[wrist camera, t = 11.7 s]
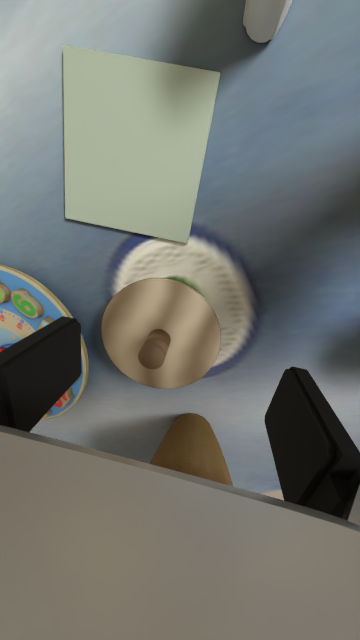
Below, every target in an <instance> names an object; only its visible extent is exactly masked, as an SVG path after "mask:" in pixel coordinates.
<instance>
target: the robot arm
mask: <svg viewBox="0 0 360 640" xmlns="http://www.w3.org/2000/svg"><path fill="white" fill-rule="evenodd" d="M81 372H82V361H81V326H80V323H78V321H77V320H76V319H74V318H70V317H65V316H62V317H60V318H58V319H57V320H55V321H53V322H51V323H50V324H48V325H46V326H44V327H43V328H41V329H39V330H37V331H36V332H34V333H32V334H30V335H29V336H27V337H25V338H23V339H22V340H20V341H18V342H16V343H15V344H13V345H11V346H9V347H8V348H6V349H4V350H2V351H1V352H0V640H360V452H359V450H358V449H357V447H356V446H355V444H354V442H353V441H352V439H351V438H350V436H349V435H348V433H347V431H346V430H345V428H344V427H343V425H342V424H341V422H340V421H339V419H338V417H337V416H336V414H335V413H334V411H333V410H332V408H331V406H330V405H329V403H328V402H327V400H326V399H325V397H324V396H323V394H322V392H321V391H320V389H319V388H318V386H317V385H316V383H315V381H314V380H313V378H312V377H311V375H310V374H309V372H308V371H307V370H305V369H301V368H296V367H291V368H290V369H286V370H285V371H284V373H283V375H282V378H281V380H280V382H279V385H278V387H277V389H276V391H275V394H274V396H273V398H272V401H271V403H270V405H269V407H268V410H267V412H266V415H265V425H266V429H267V433H268V437H269V441H270V445H271V449H272V453H273V457H274V461H275V465H276V469H277V473H278V477H279V481H280V485H281V489H282V493H283V497H284V501H283V500H280V499H276V498H273V497H270V496H266V495H263V494H259V493H255V492H252V491H248V490H244V489H241V488H237V487H233V486H229V485H226V484H222V483H218V482H215V481H211V480H207V479H204V478H200V477H196V476H193V475H189V474H185V473H182V472H178V471H174V470H170V469H167V468H163V467H159V466H155V465H152V464H148V463H144V462H140V461H137V460H133V459H129V458H125V457H122V456H118V455H114V454H110V453H107V452H103V451H99V450H95V449H91V448H88V447H84V446H80V445H76V444H72V443H68V442H64V441H61V440H57V439H53V438H49V437H45V436H41V435H37V434H34V433H30V430H31V429H32V428H33V427H34V426H35V425H36V424H37V423H38V422H39V421H40V420H41V418H42V417H43V416H44V415H45V414H46V413H47V412H48V411H49V410H50V409H51V408H52V406H53V405H54V404H55V403H56V402H57V401H58V400H59V399H60V398H61V397H62V396H63V394H64V393H65V392H66V391H67V390H68V389H69V388H70V387H71V386H72V385H73V384H74V383H75V381H76V380H77V379H78V378H79V377H80V375H81Z"/></svg>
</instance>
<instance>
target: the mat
mask: <svg viewBox="0 0 360 640" xmlns="http://www.w3.org/2000/svg"><path fill="white" fill-rule="evenodd" d="M219 79H220V72H215V71H209V70H204V69H198V68H192V67H187V66H181V65H175V64H170V63H164V62H158V61H153V60H147V59H141V58H136V57H130V56H124V55H119V54H113V53H107V52H102V51H96V50H90V49H85V48H79V47H73V46H68V45H63V83H64V157H65V218H68V219H72V220H77V221H82V222H87V223H92V224H96V225H101V226H106V227H111V228H116V229H120V230H125V231H130V232H135V233H140V234H144V235H149V236H154V237H159V238H164V239H168V240H173V241H178V242H183V243H188V240H189V235H190V230H191V224H192V219H193V214H194V209H195V204H196V198H197V193H198V188H199V183H200V178H201V172H202V167H203V162H204V157H205V152H206V146H207V141H208V136H209V131H210V126H211V120H212V115H213V110H214V105H215V100H216V94H217V89H218V84H219Z"/></svg>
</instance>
